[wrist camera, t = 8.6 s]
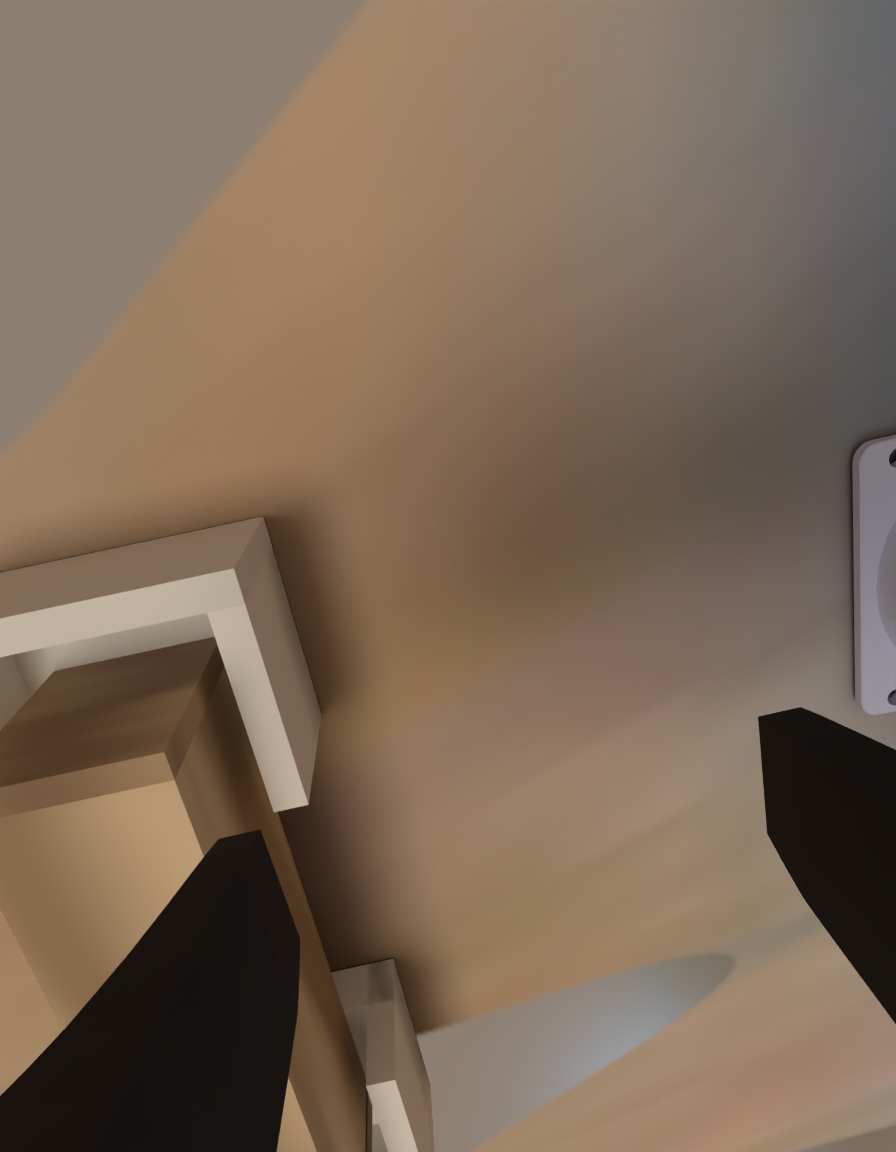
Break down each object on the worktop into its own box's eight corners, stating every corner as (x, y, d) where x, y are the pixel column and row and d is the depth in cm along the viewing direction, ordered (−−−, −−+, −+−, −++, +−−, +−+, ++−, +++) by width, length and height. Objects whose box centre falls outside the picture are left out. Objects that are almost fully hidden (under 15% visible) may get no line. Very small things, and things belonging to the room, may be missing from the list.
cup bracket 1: (263, 516, 19) (233, 568, 15) (321, 715, 21) (308, 804, 17) (-17, 576, 19) (-117, 643, 15) (68, 769, 21) (0, 872, 17)
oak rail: (221, 635, 18) (164, 752, 14) (372, 1092, 24) (370, 1290, 19) (53, 671, 18) (-63, 801, 13) (244, 1121, 24) (209, 1326, 19)
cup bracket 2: (393, 958, 24) (395, 1079, 20) (430, 1085, 26) (438, 1215, 22) (173, 1007, 24) (134, 1137, 20) (227, 1130, 26) (200, 1269, 22)
